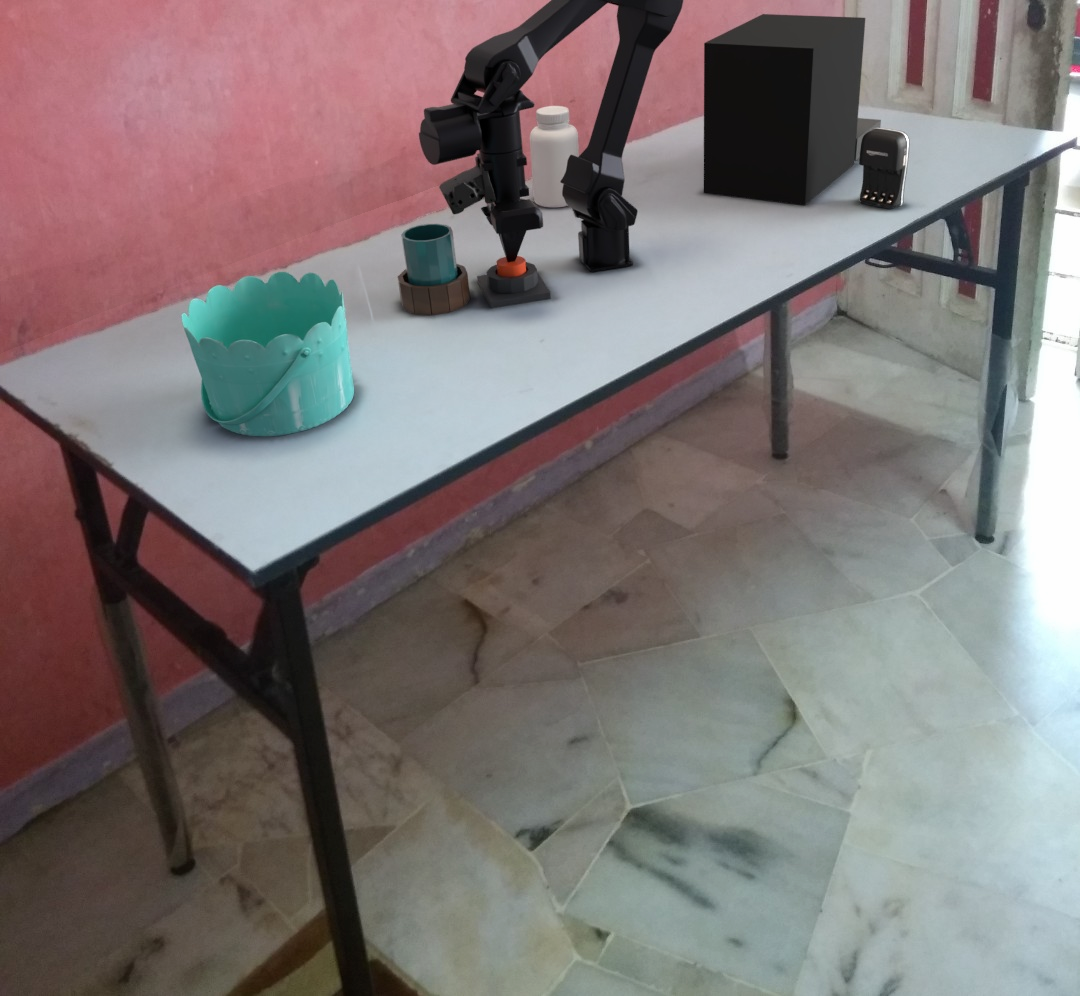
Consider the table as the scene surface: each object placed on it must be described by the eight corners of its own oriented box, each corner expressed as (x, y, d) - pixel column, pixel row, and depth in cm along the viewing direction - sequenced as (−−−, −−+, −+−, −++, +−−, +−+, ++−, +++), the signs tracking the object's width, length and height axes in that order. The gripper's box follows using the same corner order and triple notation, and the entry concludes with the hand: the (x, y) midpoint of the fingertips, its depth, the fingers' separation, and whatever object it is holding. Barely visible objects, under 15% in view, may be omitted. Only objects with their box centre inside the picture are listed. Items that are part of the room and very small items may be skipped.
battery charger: (852, 204, 180) (858, 131, 174) (865, 197, 182) (871, 124, 176) (892, 212, 176) (899, 137, 170) (905, 205, 178) (912, 131, 172)
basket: (376, 420, 131) (358, 316, 124) (215, 457, 127) (187, 352, 120) (343, 355, 147) (325, 260, 140) (199, 386, 142) (173, 289, 135)
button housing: (477, 282, 164) (475, 262, 163) (535, 273, 165) (533, 253, 164) (490, 308, 156) (488, 288, 154) (551, 299, 157) (549, 278, 156)
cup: (455, 288, 163) (447, 220, 157) (463, 306, 157) (455, 236, 152) (408, 296, 162) (398, 228, 156) (415, 314, 156) (405, 244, 151)
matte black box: (878, 144, 205) (891, 3, 192) (806, 205, 181) (814, 48, 168) (784, 136, 214) (790, 0, 201) (703, 193, 190) (704, 43, 177)
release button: (495, 272, 161) (493, 258, 160) (523, 267, 161) (521, 253, 160) (500, 282, 157) (499, 268, 156) (529, 277, 158) (527, 263, 157)
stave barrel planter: (463, 284, 164) (460, 257, 162) (474, 308, 156) (471, 281, 154) (398, 294, 163) (394, 267, 160) (406, 319, 155) (402, 292, 153)
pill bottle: (577, 208, 188) (572, 115, 180) (529, 208, 190) (522, 116, 181) (585, 193, 194) (580, 102, 186) (539, 193, 196) (532, 103, 188)
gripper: (429, 138, 156) (443, 247, 165) (451, 176, 141) (465, 294, 149) (509, 127, 158) (518, 235, 167) (539, 164, 143) (548, 281, 151)
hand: (511, 260), depth 158 cm, fingers closed, pressing on release button
